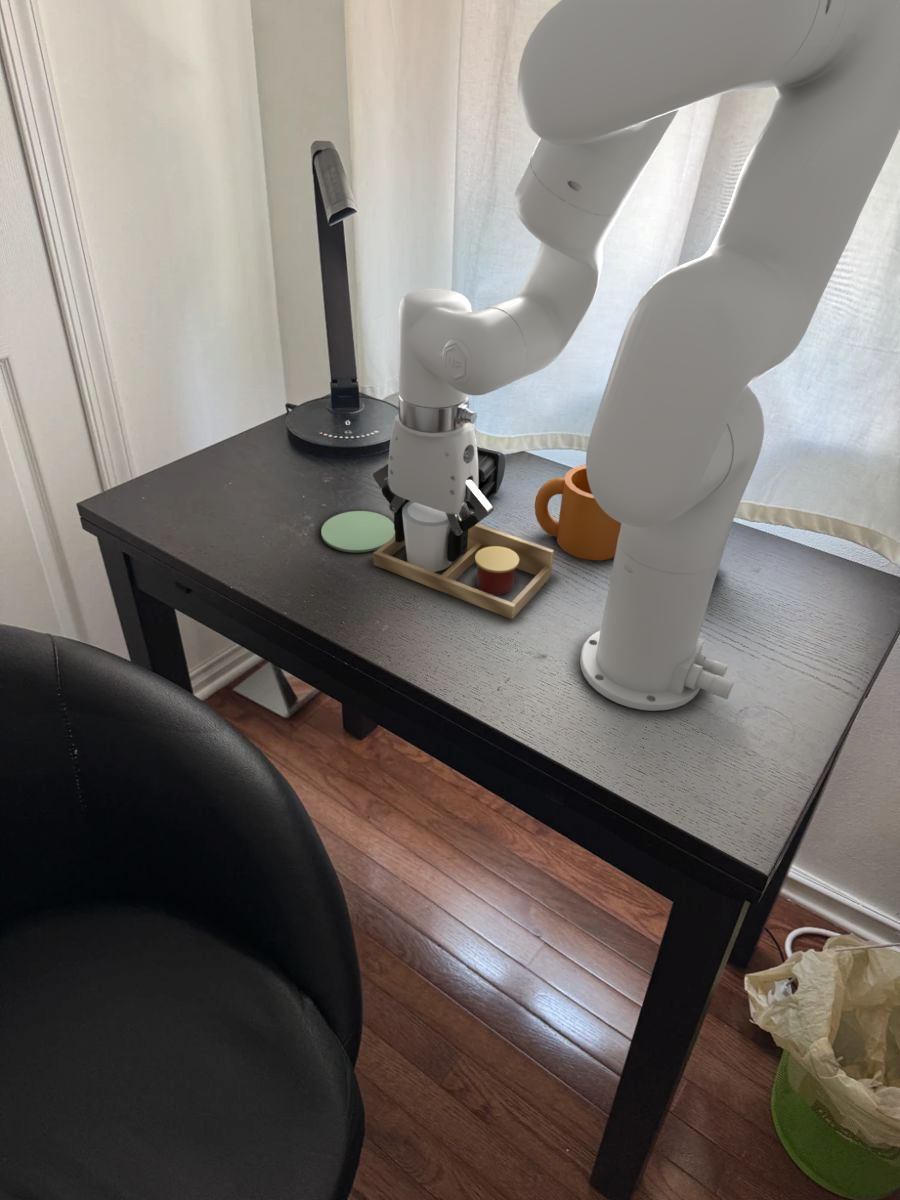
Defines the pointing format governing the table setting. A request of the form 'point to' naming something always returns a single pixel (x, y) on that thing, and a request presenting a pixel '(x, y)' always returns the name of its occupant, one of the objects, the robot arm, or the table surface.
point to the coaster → (357, 531)
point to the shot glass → (426, 536)
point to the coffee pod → (496, 569)
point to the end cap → (489, 472)
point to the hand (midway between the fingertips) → (430, 545)
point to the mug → (577, 517)
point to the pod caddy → (479, 537)
